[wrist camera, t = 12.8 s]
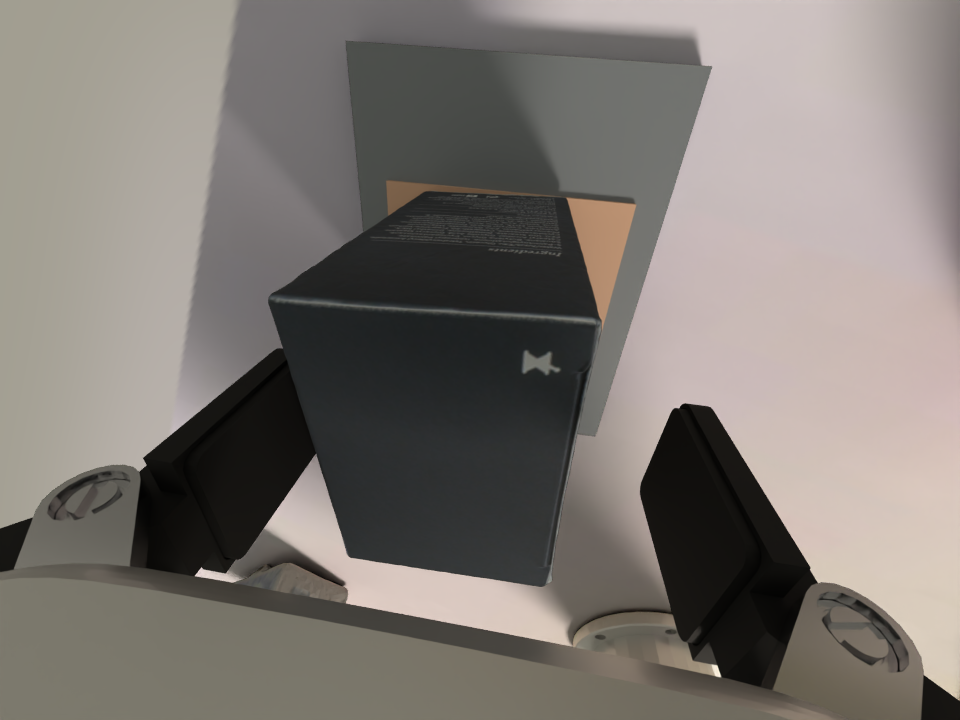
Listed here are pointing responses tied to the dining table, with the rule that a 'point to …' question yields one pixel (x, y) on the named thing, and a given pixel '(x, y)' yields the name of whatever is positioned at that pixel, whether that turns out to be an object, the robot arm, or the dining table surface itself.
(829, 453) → the dining table surface
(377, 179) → the card
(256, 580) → the incense holder
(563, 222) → the box
